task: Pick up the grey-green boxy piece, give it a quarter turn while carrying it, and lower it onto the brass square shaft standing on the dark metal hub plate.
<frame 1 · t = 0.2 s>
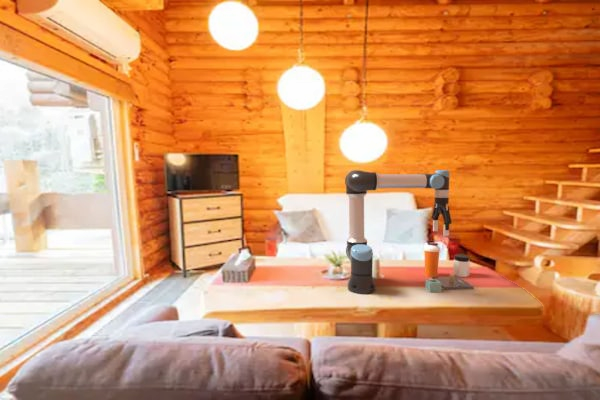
hand: (440, 233, 189), 27 cm above the table, fingers open, 13 cm apart
jar: (461, 275, 199), on the table
shaker bottle: (431, 275, 199), on the table
grey-green boxy piece: (433, 290, 175), on the table
hub plate: (451, 284, 183), on the table
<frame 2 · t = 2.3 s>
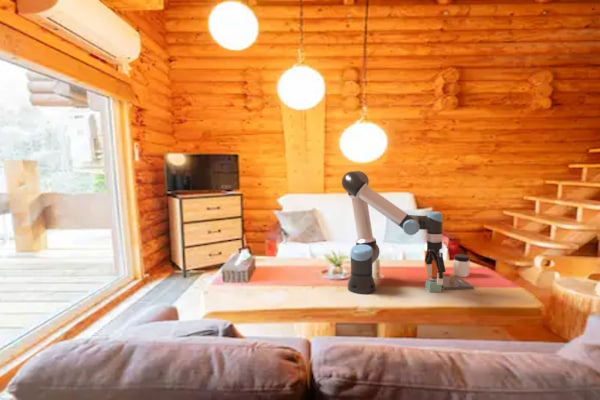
hand: (434, 280, 174), 6 cm above the table, fingers open, 13 cm apart
nothing on the table moved.
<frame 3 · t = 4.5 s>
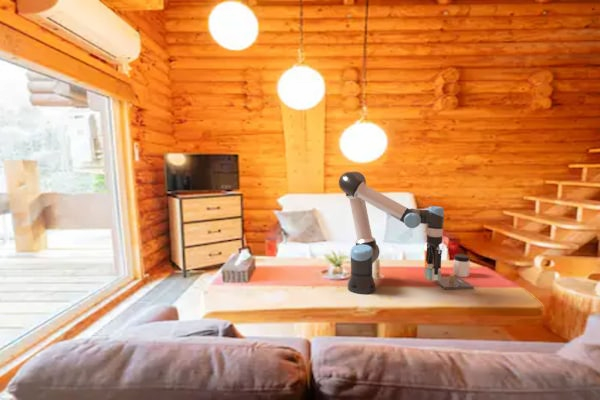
hand: (432, 277, 175), 7 cm above the table, fingers closed on grey-green boxy piece, 6 cm apart
grey-green boxy piece: (432, 278, 175), point 6 cm above the table, touching gripper
everything else where it was.
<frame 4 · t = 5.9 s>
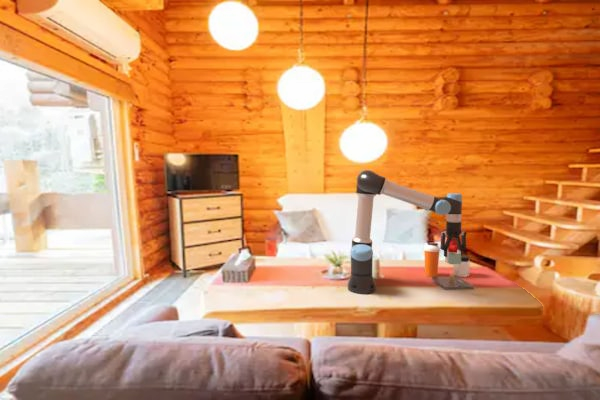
hand: (452, 262, 182), 13 cm above the table, fingers closed on grey-green boxy piece, 6 cm apart
grey-green boxy piece: (452, 262, 182), point 13 cm above the table, touching gripper
everything else where it was.
when the fingers open (2 cm above the table, at t = 7.4 s): grey-green boxy piece stays where it is, resting on hub plate.
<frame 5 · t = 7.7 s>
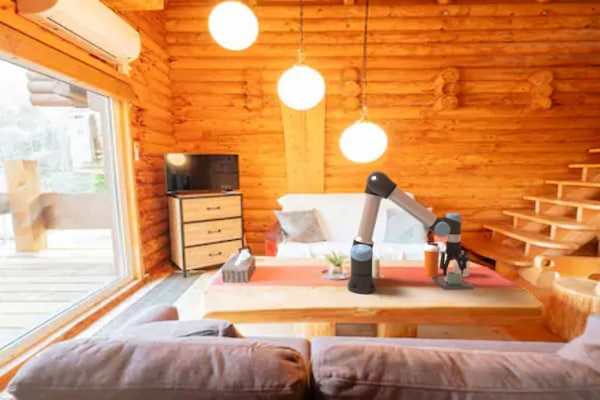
hand: (452, 281, 183), 2 cm above the table, fingers open, 7 cm apart
grey-green boxy piece: (452, 281, 183), point 1 cm above the table, touching hub plate
everything else where it was.
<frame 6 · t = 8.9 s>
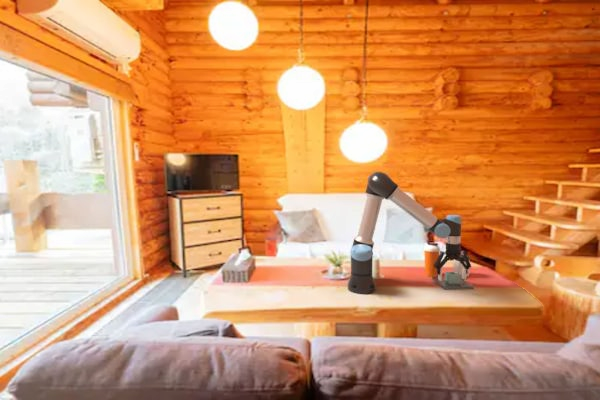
hand: (451, 279, 183), 3 cm above the table, fingers open, 13 cm apart
nothing on the table moved.
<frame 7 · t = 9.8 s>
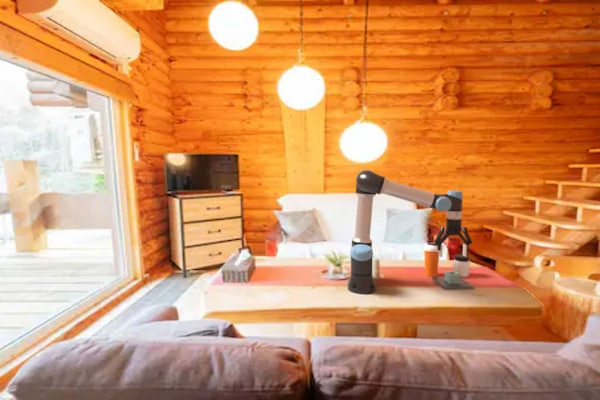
hand: (452, 256, 182), 16 cm above the table, fingers open, 13 cm apart
nothing on the table moved.
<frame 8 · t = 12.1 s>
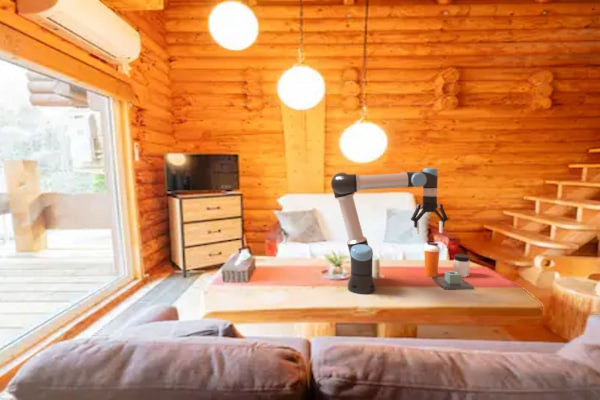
hand: (429, 233, 184), 29 cm above the table, fingers open, 13 cm apart
nothing on the table moved.
at the end: grey-green boxy piece 0.4 cm off-centre on the hub plate, point 1.5 cm above the hub plate's base; grey-green boxy piece tilted 0°; the gripper is holding nothing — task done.
